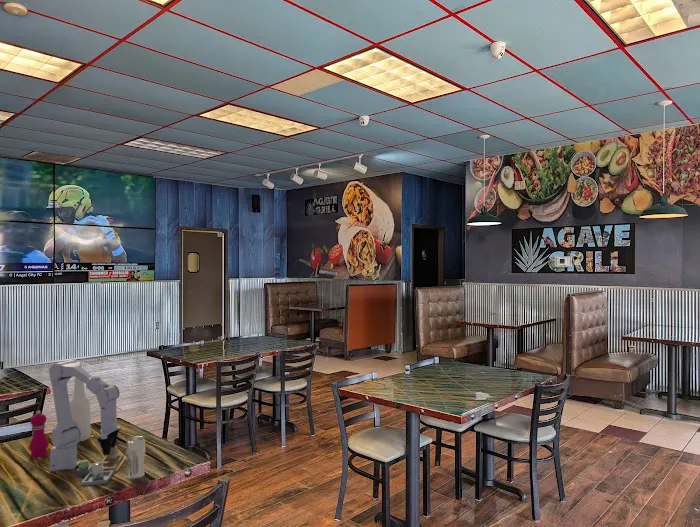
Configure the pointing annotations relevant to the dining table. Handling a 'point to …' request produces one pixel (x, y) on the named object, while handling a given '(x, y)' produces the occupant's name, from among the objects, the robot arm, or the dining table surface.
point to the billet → (97, 471)
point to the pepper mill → (38, 436)
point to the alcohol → (81, 410)
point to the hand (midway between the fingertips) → (109, 450)
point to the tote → (89, 481)
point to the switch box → (83, 471)
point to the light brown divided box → (113, 460)
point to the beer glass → (135, 456)
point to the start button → (84, 464)
